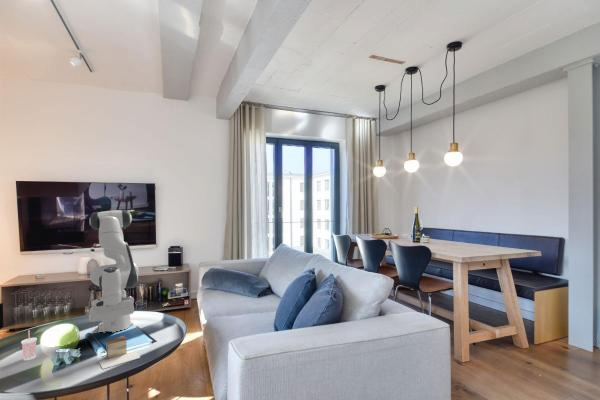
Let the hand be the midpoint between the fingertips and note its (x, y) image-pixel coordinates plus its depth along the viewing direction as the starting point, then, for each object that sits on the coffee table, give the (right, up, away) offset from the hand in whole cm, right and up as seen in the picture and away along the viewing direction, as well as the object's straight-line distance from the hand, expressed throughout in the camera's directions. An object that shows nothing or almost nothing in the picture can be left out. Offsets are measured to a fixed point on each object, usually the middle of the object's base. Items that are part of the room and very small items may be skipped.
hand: (112, 326), depth 169 cm
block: (+5, -12, -6) cm, 14 cm away
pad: (+10, -12, -11) cm, 19 cm away
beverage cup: (-37, -13, -7) cm, 40 cm away
